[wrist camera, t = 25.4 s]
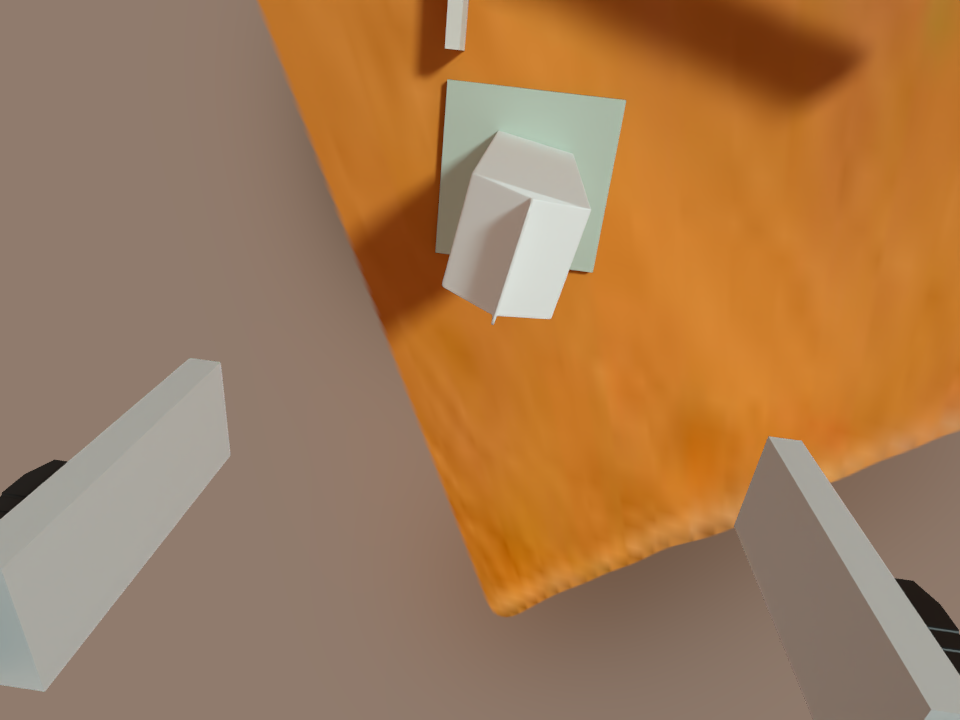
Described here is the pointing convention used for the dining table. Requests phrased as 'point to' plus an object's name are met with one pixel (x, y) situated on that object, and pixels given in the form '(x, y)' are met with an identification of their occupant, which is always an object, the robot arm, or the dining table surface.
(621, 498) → the dining table surface
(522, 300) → the milk
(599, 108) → the mat
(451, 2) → the bracket
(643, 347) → the dining table surface
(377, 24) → the dining table surface
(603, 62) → the dining table surface
